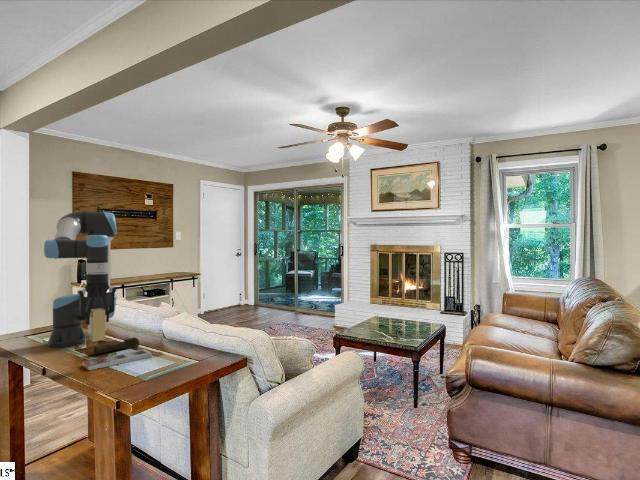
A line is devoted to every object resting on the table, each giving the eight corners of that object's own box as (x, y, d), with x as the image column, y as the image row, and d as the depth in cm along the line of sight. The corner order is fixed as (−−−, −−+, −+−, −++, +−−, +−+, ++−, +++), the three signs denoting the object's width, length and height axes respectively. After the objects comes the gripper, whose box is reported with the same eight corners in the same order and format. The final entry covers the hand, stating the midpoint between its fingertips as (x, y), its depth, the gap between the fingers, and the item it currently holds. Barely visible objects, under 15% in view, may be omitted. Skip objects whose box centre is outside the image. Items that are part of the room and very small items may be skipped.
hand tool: (95, 356, 162) (95, 345, 162) (93, 354, 165) (93, 344, 165) (141, 347, 175) (141, 337, 175) (138, 346, 178) (138, 336, 178)
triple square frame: (82, 365, 149) (82, 361, 149) (144, 352, 167) (144, 348, 167) (88, 370, 144) (88, 366, 144) (151, 356, 161) (151, 352, 161)
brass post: (89, 339, 149) (89, 309, 149) (101, 337, 152) (101, 308, 152) (92, 341, 146) (92, 311, 146) (105, 339, 149) (105, 309, 149)
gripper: (74, 275, 140) (74, 337, 140) (124, 272, 153) (123, 329, 153) (69, 274, 146) (69, 334, 145) (117, 271, 158) (117, 326, 158)
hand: (97, 331), depth 149 cm, fingers closed on brass post, 4 cm apart
